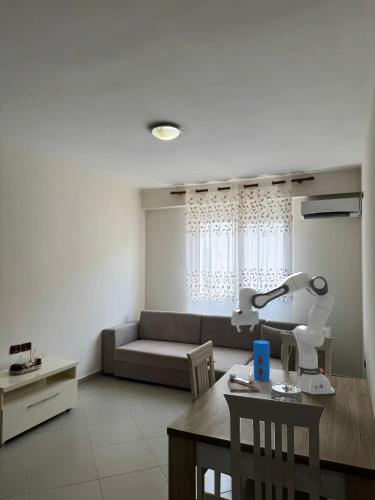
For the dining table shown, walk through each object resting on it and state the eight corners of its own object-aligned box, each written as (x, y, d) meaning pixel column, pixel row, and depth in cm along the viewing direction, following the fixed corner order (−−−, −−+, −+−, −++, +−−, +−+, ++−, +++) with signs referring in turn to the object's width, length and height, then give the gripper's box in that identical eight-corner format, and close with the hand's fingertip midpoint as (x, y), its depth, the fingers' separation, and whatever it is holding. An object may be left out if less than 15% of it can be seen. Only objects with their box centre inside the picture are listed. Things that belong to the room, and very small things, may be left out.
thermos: (252, 380, 236) (252, 343, 237) (254, 375, 247) (254, 339, 248) (269, 382, 233) (269, 344, 234) (270, 377, 243) (270, 341, 244)
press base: (254, 381, 233) (254, 378, 234) (259, 392, 214) (259, 388, 215) (227, 381, 234) (227, 378, 234) (230, 391, 215) (230, 388, 215)
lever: (228, 379, 231) (228, 368, 232) (232, 378, 234) (232, 367, 234) (251, 386, 218) (251, 375, 218) (254, 385, 221) (254, 374, 221)
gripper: (255, 309, 244) (255, 329, 243) (230, 311, 236) (229, 331, 236) (260, 311, 238) (260, 331, 237) (234, 312, 230) (234, 333, 230)
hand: (245, 331), depth 236 cm, fingers open, 8 cm apart
